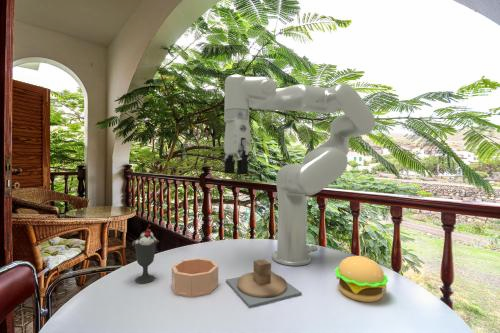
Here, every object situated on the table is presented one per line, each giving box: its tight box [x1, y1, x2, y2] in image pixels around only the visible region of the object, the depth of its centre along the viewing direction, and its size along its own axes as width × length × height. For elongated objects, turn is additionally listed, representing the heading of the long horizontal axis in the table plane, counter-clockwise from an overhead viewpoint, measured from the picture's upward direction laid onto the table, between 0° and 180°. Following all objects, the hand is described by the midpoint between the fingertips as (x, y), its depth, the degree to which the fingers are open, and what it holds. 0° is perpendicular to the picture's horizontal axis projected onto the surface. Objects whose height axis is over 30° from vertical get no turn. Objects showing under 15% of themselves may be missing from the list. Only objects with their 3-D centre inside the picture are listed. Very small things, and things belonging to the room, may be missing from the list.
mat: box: [225, 271, 303, 309], centre depth 66 cm, size 14×14×1 cm
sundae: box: [131, 224, 160, 285], centre depth 69 cm, size 7×7×15 cm
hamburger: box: [334, 255, 389, 303], centre depth 64 cm, size 12×12×9 cm
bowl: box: [170, 257, 219, 298], centre depth 66 cm, size 11×11×5 cm
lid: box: [237, 258, 287, 298], centre depth 66 cm, size 12×12×6 cm
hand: (235, 173), depth 79 cm, fingers open, 9 cm apart
